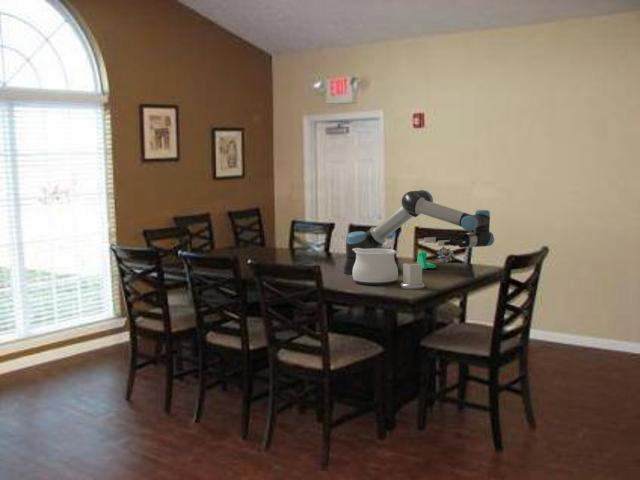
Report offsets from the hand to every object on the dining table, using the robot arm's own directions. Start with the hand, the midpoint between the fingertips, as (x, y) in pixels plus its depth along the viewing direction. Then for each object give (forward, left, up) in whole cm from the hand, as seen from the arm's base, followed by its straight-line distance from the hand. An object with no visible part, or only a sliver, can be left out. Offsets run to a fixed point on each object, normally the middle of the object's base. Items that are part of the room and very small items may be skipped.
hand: (431, 241), depth 372 cm
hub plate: (-11, -6, -22) cm, 26 cm away
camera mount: (+8, +59, -23) cm, 63 cm away
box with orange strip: (-11, -6, -20) cm, 24 cm away
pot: (-28, +12, -23) cm, 38 cm away
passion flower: (+25, +84, -23) cm, 91 cm away
